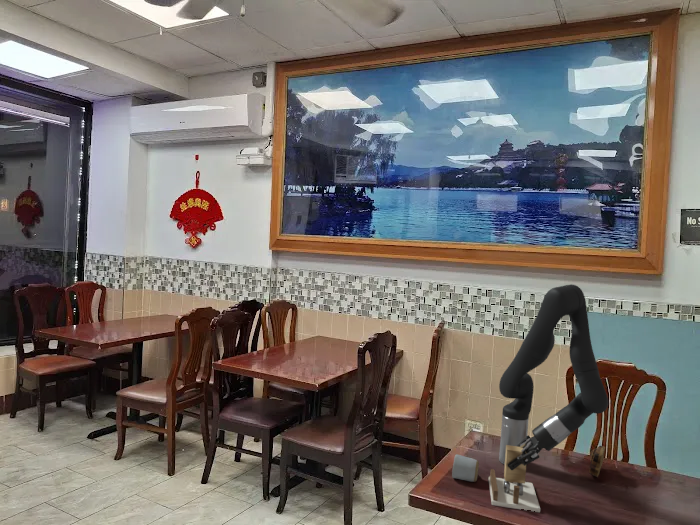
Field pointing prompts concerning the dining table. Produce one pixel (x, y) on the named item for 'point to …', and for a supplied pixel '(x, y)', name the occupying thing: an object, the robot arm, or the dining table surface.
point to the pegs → (507, 487)
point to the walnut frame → (495, 489)
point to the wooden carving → (596, 460)
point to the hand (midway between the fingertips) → (508, 464)
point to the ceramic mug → (465, 468)
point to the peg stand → (506, 500)
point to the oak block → (518, 472)
